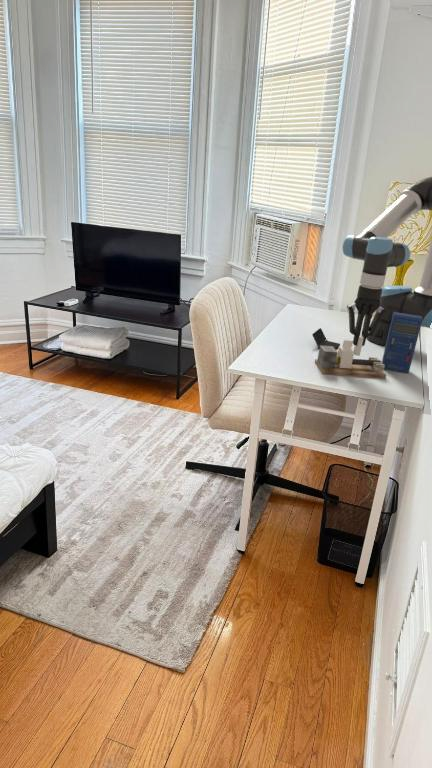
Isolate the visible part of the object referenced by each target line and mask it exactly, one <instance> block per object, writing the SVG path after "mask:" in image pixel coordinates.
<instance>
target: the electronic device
mask: <svg viewBox="0 0 432 768" xmlns="http://www.w3.org/2000/svg"><path fill="white" fill-rule="evenodd" d="M422 320H423V319H422V316H416V315H410V314H403V313H397V312H394V313H393V317H392V321H391V325H390V329H389V334H388V338H387V342H386V346H385V345H384V351H383V356H382V359H381V362H382V363H383V364H384V365H385V366H384V370H389V371H395V372H400V373H406V374H409V373H410V369H411V366H412V365H411V364H412V362H413V357H414V354H415V350H416V346H417V342H418V338H419V335H420V330H421V327H422V326H421V324H422Z"/></svg>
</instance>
